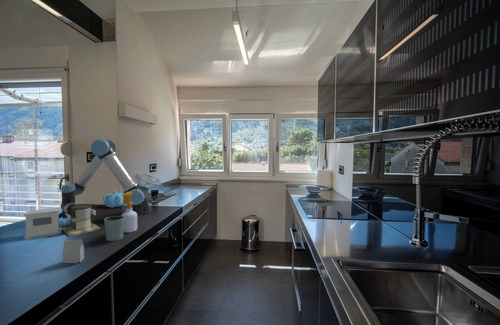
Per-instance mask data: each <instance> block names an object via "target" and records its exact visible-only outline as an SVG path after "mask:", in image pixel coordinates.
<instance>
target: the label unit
mask: <svg viewBox="0 0 500 325" xmlns="http://www.w3.org/2000/svg"><path fill="white" fill-rule="evenodd" d="M60 209H61V207H54V208H53V207H51V208H44V209H33V210H32V209H31V210H27V211H26V212H25V213H24V214H23V215H24V217H25V234H24V236H23V240H24V241H27V240H32V238H33V239H38V237H39V238H44V237H45V236H46V237H51V236H56V235H58V236H59V235H61V233H62V227H60V218H59V214H60ZM26 239H27V240H26Z"/></svg>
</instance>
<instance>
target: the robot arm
mask: <svg viewBox="0 0 500 325" xmlns="http://www.w3.org/2000/svg"><path fill="white" fill-rule="evenodd" d="M90 152H91V153H92V154H93V155H95V156H94V157H93V158H92V160H91V161H90V162H89V164H88V165H87V166H86V167H85V169H84V170H83V172H82V173H81V174H80V176H79V177H78V178H77V180H76V181H75V182H74V184H71V183H70V184H69V183H68V184H63V185H61V203H60V206H59V208H60V209H61V212H59V219H63V220H65V219H67V220H68V221H69V220H70V221H71V207H72V206H75V205H78V204H77V203H76V196H78V195H81V194H83V193H84V192H85V191H86V188H87V187H88V185H89V184H90V182H91V181H92V180H93V178H94V177H95V176H96V174H97V173H98V172H99V170H100V169H101V168H102V166H103V165H104V163H105V165H106V167H107V168H108V169H109V170H110V172H111V173H112V174H113V176H114V177H115V179H116V180H117V182H118V183H119V184H120V186H121V188H122V189H123V192H122V193H124V194H125V193H126V192H133V193H132V194H131V195H130V202H134V203H132V205H131V207H132V211H134V212H136V213H137V216H142V215H147V214H150V213H151V212H152V211H151V207H150V203H149V186H148V184H139V183H138V182H135V181H134V179H133V178H132V176H131V175H130V173H129V172H128V170H127V169H126V168H125V166H124V164H122V161H120V159H119V158H118V156H117V151H116V144H115V143H114V142H113V141H112V140H110V139H103V138H100V139H95V140H93V141H92V142H91V145H90ZM97 212H98V209H97V207H91V214H92V215H94V216H96V215H97Z"/></svg>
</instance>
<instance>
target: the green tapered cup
mask: <svg viewBox="0 0 500 325" xmlns="http://www.w3.org/2000/svg"><path fill="white" fill-rule="evenodd" d="M103 221H104V228H105V231H104V232H105V239H106V241H107V242H116V241H119V240H120V241H121V240H122V239H123V238H124V232H123V229H124V216H121V215H112V216H107V217H105V218H104V220H103Z"/></svg>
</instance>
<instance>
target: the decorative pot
mask: <svg viewBox="0 0 500 325" xmlns="http://www.w3.org/2000/svg"><path fill="white" fill-rule="evenodd" d="M123 194H124V193H123V192H117V191H116V190H115V191H114V190H113V191H112V192H110V193H107V194H106V195H103V197H102V200H103V202H102V206H105V207H106V208H110V209H114V208H116V207H118V208H119V207H121V208H122V206H124V205H125V204H124V203H123Z"/></svg>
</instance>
